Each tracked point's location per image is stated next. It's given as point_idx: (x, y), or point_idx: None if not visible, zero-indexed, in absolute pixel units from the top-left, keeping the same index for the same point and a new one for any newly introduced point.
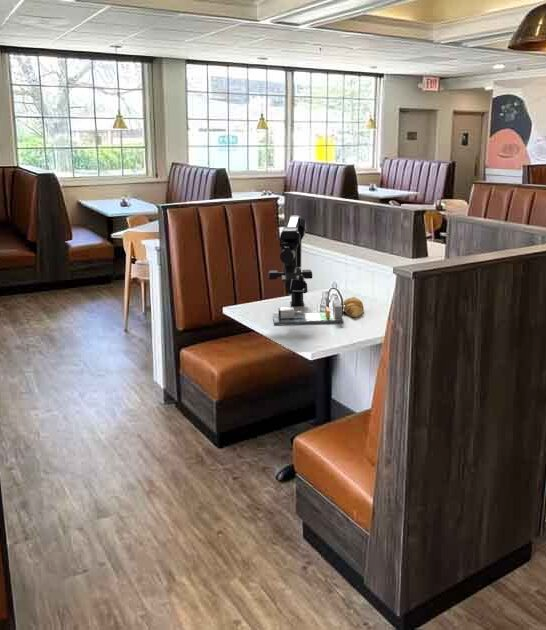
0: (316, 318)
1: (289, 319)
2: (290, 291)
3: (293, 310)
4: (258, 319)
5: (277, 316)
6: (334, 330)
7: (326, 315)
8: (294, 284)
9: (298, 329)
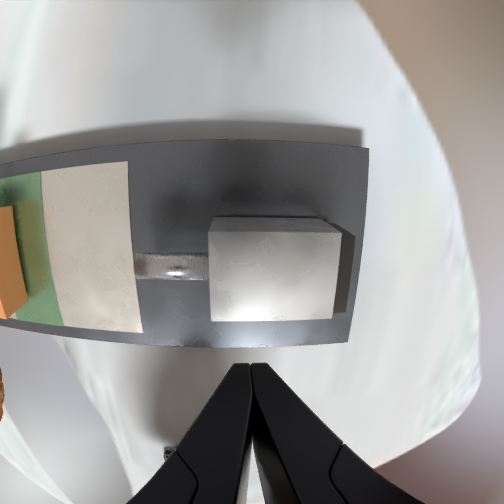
0: (65, 211)
1: (253, 202)
2: (252, 386)
3: (216, 230)
4: (427, 275)
5: None
6: (19, 51)
7: (13, 239)
8: (131, 502)
9: (202, 40)
